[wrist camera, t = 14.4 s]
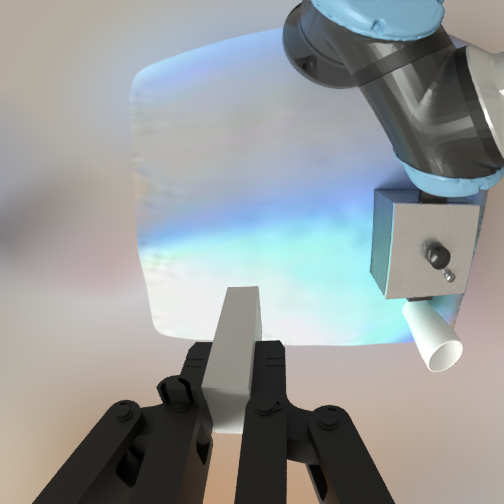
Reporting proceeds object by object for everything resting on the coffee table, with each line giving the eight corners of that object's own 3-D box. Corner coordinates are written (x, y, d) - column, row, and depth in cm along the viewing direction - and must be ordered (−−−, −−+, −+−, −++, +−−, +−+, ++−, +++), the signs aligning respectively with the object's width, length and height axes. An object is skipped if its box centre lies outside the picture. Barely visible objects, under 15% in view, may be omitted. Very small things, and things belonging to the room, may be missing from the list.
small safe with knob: (374, 176, 43) (393, 187, 36) (448, 178, 42) (474, 189, 35) (368, 282, 50) (382, 307, 43) (437, 276, 49) (456, 298, 41)
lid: (393, 202, 36) (399, 208, 34) (477, 204, 34) (487, 209, 32) (384, 296, 42) (389, 306, 39) (462, 290, 40) (469, 299, 37)
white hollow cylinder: (423, 283, 50) (460, 332, 36) (432, 308, 51) (466, 357, 38) (393, 303, 51) (422, 356, 38) (404, 326, 53) (431, 379, 40)
